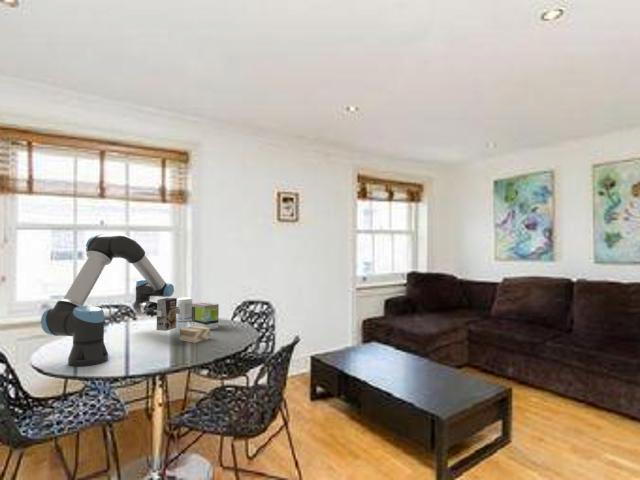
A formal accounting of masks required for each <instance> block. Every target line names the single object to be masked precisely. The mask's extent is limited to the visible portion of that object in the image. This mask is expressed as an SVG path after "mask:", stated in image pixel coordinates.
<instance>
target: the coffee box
mask: <svg viewBox="0 0 640 480" xmlns="http://www.w3.org/2000/svg"><path fill="white" fill-rule="evenodd" d="M177 299H178V298H177V297H164V298H161V299H157V300H156V301H157V302H156V303H157V311H161V317H158V316H156V331H161V332H167V331H170V330H174V329H175V328H177V314H176V308H177Z"/></svg>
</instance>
